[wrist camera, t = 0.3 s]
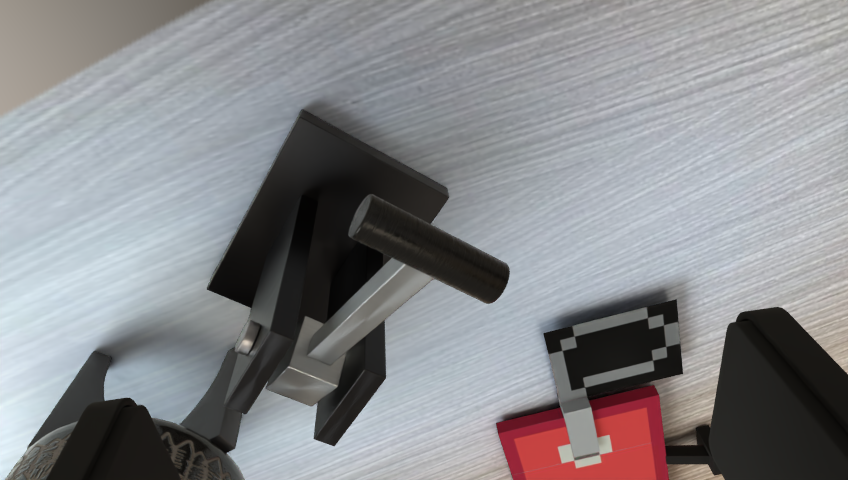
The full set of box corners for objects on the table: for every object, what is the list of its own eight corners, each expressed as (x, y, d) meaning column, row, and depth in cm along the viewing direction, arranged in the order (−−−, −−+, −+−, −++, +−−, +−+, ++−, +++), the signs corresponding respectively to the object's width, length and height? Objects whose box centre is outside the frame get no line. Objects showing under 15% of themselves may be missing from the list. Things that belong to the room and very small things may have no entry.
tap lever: (378, 173, 18) (361, 234, 17) (512, 244, 20) (508, 305, 18) (252, 328, 27) (233, 377, 25) (352, 369, 29) (340, 418, 27)
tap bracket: (301, 108, 32) (263, 228, 21) (447, 188, 35) (481, 330, 23) (211, 278, 36) (140, 449, 25) (345, 335, 39) (334, 512, 28)
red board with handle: (700, 282, 39) (470, 341, 40) (721, 310, 36) (475, 371, 38) (715, 548, 54) (549, 583, 55) (731, 579, 52) (556, 616, 53)
